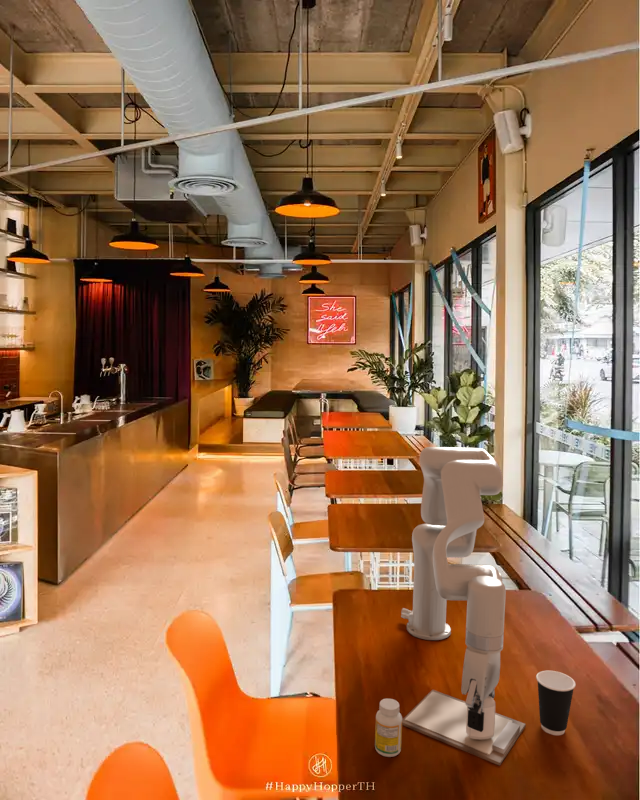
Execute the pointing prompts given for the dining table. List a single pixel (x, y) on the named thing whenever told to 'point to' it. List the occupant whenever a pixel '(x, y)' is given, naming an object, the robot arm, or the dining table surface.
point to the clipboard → (461, 727)
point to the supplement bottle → (388, 728)
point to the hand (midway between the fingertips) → (480, 721)
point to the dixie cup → (554, 700)
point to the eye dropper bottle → (488, 720)
